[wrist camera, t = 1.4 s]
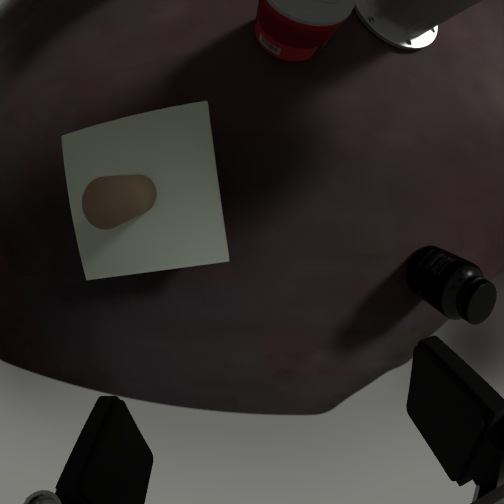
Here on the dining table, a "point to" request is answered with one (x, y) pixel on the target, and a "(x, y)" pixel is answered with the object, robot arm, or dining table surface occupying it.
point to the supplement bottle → (451, 285)
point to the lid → (146, 192)
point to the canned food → (299, 26)
